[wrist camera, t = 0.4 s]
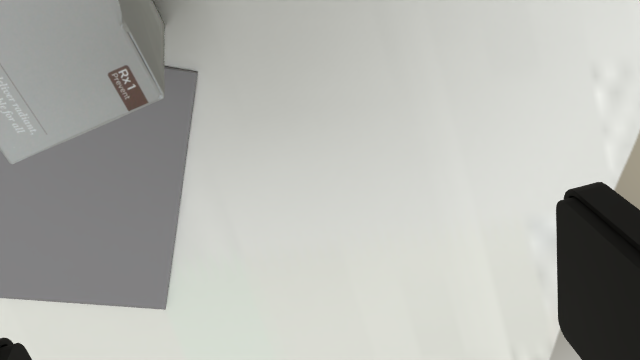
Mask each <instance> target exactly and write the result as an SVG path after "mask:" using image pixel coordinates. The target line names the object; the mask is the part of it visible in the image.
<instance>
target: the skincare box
mask: <svg viewBox="0 0 640 360" xmlns="http://www.w3.org/2000/svg"><path fill="white" fill-rule="evenodd" d="M164 31H165V25H164V23H163V21H162V19H161V17H160V15H159V13H158V11H157V9H156V7H155V5H154V3H153V1H152V0H0V150H1V152H2V153H3V154H4V156H5V157H6V158H7V160H8V161H9V163H11V164H14V163H17V162H19V161H21V160H24V159H26V158H29V157H31V156H33V155H36V154H38V153H40V152H43V151H45V150H47V149H50V148H52V147H54V146H57V145H59V144H61V143H64V142H66V141H68V140H70V139H73V138H75V137H77V136H80V135H82V134H84V133H86V132H89V131H91V130H93V129H96V128H98V127H100V126H103V125H105V124H107V123H110V122H112V121H114V120H116V119H119V118H121V117H123V116H125V115H128V114H130V113H132V112H134V111H137V110H139V109H141V108H143V107H146V106H148V105H150V104H152V103H155V102H157V101H159V100H161V99H163V98H164V92H165V80H164Z"/></svg>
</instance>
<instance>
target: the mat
mask: <svg viewBox="0 0 640 360" xmlns="http://www.w3.org/2000/svg"><path fill="white" fill-rule="evenodd" d="M164 80H165V92H164V98H163V99H161V100H159V101H157V102H155V103H152V104H150V105H148V106H146V107H143V108H141V109H139V110H137V111H134V112H132V113H130V114H128V115H125V116H123V117H121V118H119V119H116V120H114V121H112V122H110V123H107V124H105V125H103V126H100V127H98V128H96V129H93V130H91V131H89V132H86V133H84V134H82V135H80V136H77V137H75V138H73V139H70V140H68V141H66V142H64V143H61V144H59V145H57V146H54V147H52V148H50V149H47V150H45V151H43V152H40V153H38V154H36V155H33V156H31V157H29V158H26V159H24V160H21V161H19V162H17V163H14V164H11V163H9V161H8V160H7V158H6V157H5V156H4V154H3V153H2V152H1V150H0V298H9V299H24V300H38V301H52V302H66V303H80V304H94V305H109V306H123V307H137V308H151V309H166V302H167V294H168V287H169V280H170V272H171V265H172V257H173V250H174V243H175V235H176V228H177V220H178V213H179V206H180V198H181V191H182V183H183V176H184V169H185V161H186V154H187V146H188V139H189V132H190V124H191V117H192V109H193V102H194V95H195V87H196V80H197V72H195V71H189V70H183V69H177V68H171V67H165V66H164Z"/></svg>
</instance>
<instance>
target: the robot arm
mask: <svg viewBox="0 0 640 360" xmlns="http://www.w3.org/2000/svg"><path fill="white" fill-rule="evenodd" d="M556 224H557V280H558V320H559V325H560V328H561V331H562V332H563V335H564V337H565V338H566V340H567V341H568V342H569V343H570V345H571V346H572V347H573V349H574V350H575V351H576V352H577V354H578V355H579V356H580V358H581V359H582V360H640V210H639V209H638V208H636V207H635V206H634V205H632V204H631V203H630V202H628V201H627V200H626V199H624V198H623V197H622V196H620V195H619V194H617V193H616V192H615V191H614V190H612V189H611V188H610V187H609V186H607V185H606V184H604V183H602V182H596V183H593V184H589V185H585V186H581V187H577V188H573V189H570V190H568V191H567V192H566V193H565V195H564V200H560V201H559V202H558V203H557V207H556ZM0 360H32V359H31V357H30V355H29V354H28V352H27V350H26V349H25V347H24V346H23V345H22V344H20V343H16V344H13V343H12V341H11V340H9V339H8V338H0Z"/></svg>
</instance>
